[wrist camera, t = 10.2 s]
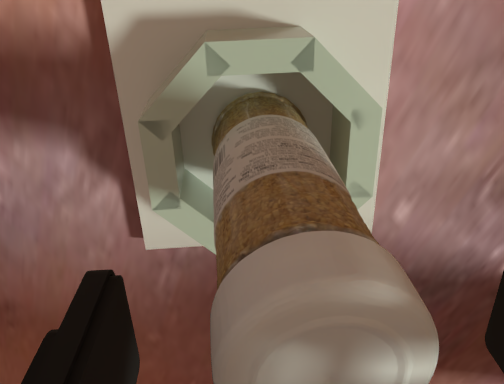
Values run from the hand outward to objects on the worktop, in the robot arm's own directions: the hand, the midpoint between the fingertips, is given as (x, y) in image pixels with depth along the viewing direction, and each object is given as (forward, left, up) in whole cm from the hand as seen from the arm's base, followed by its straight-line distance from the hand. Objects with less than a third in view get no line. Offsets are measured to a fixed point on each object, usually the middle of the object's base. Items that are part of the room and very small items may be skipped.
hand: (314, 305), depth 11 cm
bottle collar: (0, +1, -12) cm, 12 cm away
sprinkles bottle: (0, 0, -11) cm, 11 cm away
